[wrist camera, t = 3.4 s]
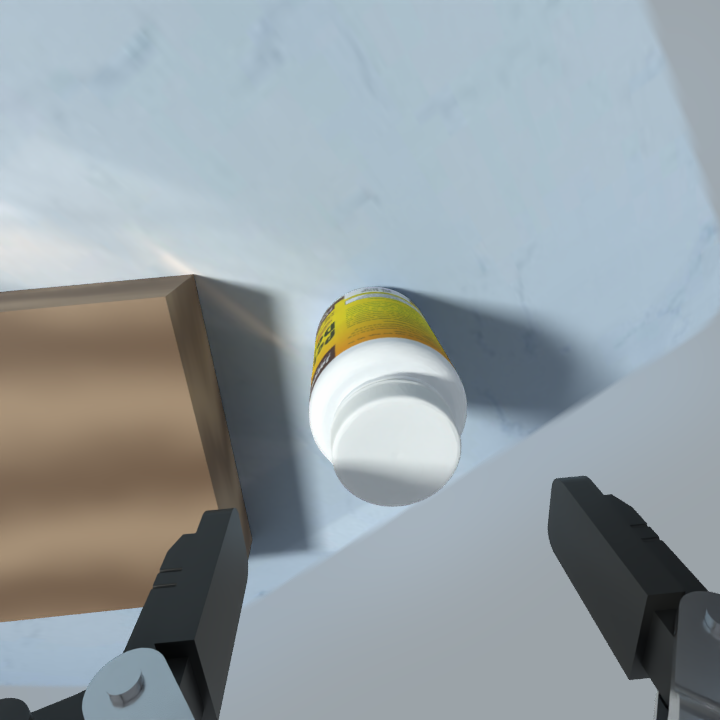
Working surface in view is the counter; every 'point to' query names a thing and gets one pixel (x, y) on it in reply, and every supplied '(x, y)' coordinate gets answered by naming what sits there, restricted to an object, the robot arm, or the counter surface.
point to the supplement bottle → (385, 399)
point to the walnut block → (105, 442)
